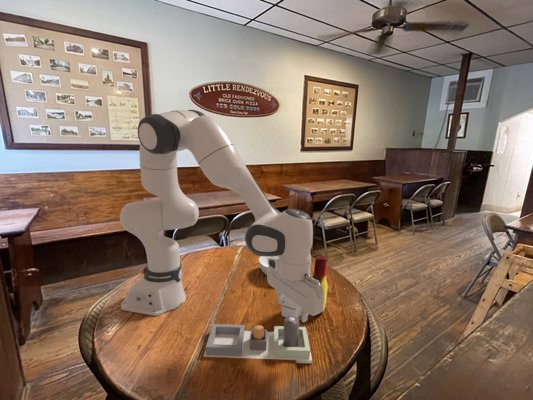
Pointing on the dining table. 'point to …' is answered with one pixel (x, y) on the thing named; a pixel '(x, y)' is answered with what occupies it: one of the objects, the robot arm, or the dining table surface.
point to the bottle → (321, 274)
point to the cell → (291, 332)
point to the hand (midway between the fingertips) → (291, 311)
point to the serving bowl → (264, 263)
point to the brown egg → (258, 332)
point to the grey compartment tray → (255, 344)
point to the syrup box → (291, 309)
